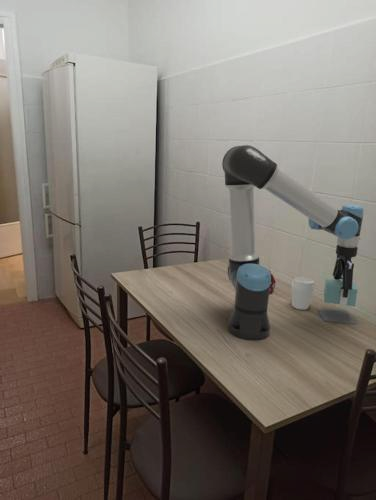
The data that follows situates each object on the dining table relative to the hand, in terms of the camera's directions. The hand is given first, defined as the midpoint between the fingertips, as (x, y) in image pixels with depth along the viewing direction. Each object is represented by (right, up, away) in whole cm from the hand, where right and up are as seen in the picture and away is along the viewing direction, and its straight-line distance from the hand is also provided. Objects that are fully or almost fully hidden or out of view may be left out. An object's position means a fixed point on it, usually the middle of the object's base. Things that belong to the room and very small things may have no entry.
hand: (338, 299), depth 145 cm
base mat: (-1, -7, +2) cm, 7 cm away
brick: (0, 0, 0) cm, 0 cm away
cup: (-13, -5, +10) cm, 17 cm away
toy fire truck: (-26, 0, +26) cm, 37 cm away
